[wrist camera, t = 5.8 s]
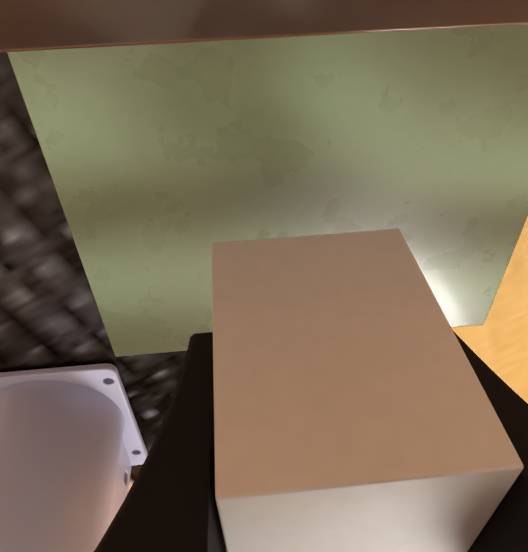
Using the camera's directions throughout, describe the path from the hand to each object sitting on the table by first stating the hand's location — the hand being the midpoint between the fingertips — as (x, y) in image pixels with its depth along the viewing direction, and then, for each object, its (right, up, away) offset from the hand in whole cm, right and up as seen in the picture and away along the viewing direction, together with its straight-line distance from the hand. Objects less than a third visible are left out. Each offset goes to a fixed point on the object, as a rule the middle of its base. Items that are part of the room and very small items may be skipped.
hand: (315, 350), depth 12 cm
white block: (0, +1, +1) cm, 2 cm away
